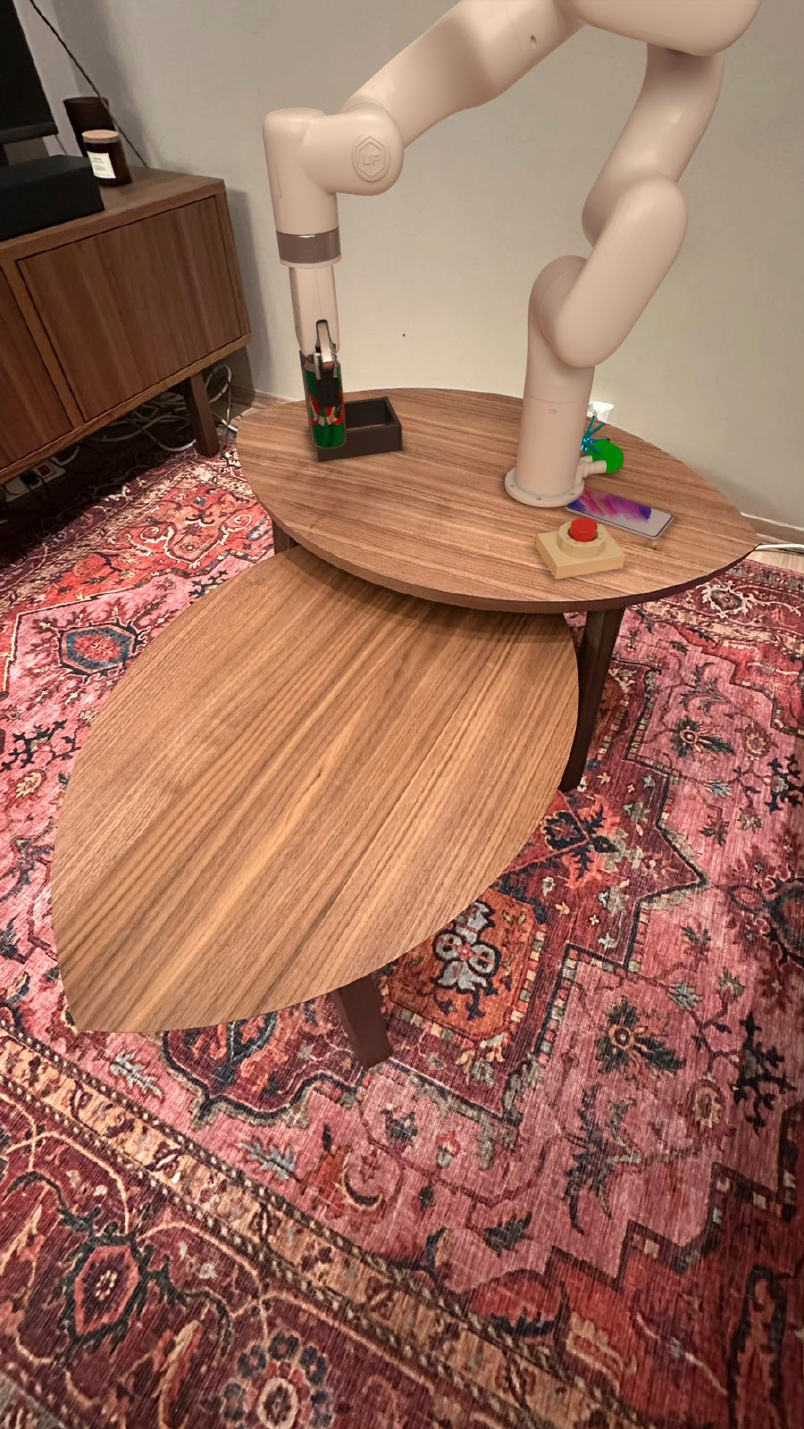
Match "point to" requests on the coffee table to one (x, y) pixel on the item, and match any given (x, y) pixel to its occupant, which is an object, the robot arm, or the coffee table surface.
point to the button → (583, 530)
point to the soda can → (325, 411)
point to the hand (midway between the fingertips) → (325, 396)
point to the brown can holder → (364, 438)
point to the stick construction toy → (602, 449)
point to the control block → (579, 552)
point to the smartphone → (621, 513)
